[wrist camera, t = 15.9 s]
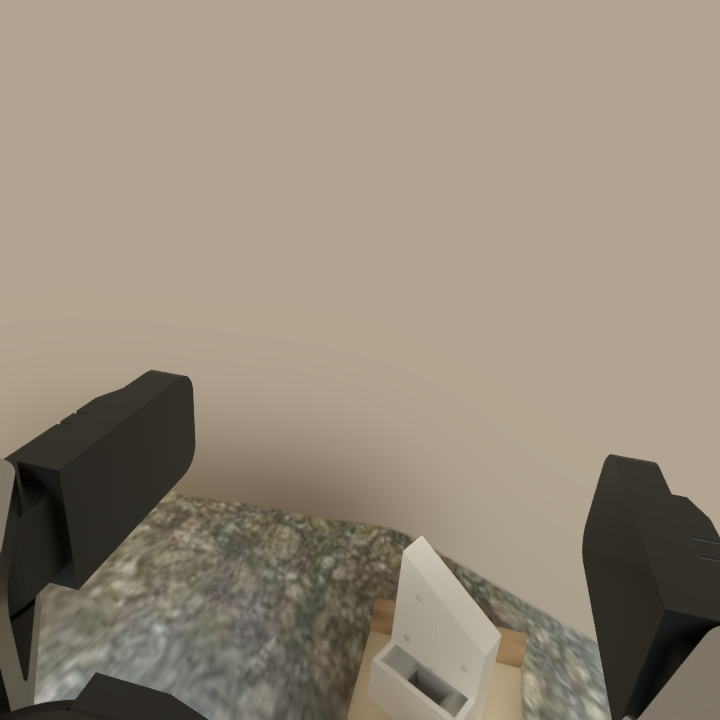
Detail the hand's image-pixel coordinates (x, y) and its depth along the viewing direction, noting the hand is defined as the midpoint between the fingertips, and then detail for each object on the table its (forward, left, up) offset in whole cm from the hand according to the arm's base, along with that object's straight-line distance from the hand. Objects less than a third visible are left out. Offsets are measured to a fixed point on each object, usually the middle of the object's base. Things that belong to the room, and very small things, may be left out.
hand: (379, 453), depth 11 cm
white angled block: (+2, +14, -26) cm, 30 cm away
